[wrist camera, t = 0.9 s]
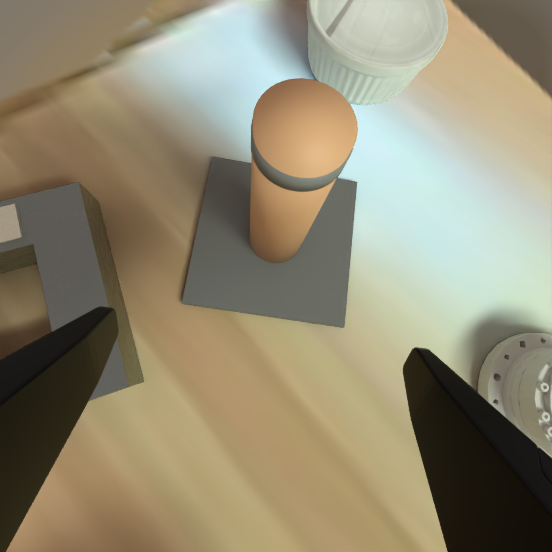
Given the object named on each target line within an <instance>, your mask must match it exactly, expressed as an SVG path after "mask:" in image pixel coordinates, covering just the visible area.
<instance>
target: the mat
mask: <svg viewBox="0 0 552 552" xmlns="http://www.w3.org/2000/svg"><path fill="white" fill-rule="evenodd" d="M251 167H252V163H246V162H241V161H235V160H229V159H224V158H218V157H212V160H211V165H210V170H209V174H208V179H207V184H206V189H205V194H204V198H203V203H202V208H201V213H200V217H199V222H198V227H197V232H196V237H195V241H194V246H193V251H192V256H191V261H190V265H189V270H188V275H187V280H186V285H185V289H184V294H183V299H182V304H187V305H194V306H201V307H207V308H214V309H221V310H227V311H234V312H241V313H248V314H254V315H261V316H268V317H275V318H281V319H288V320H295V321H301V322H308V323H315V324H322V325H328V326H335V327H342V328H343V327H344V325H345V314H346V302H347V291H348V280H349V268H350V257H351V246H352V234H353V223H354V211H355V200H356V189H357V182H354V181H349V180H343V179H336V180H335V182H334V184H333V186H332V188H331V190H330V192H329V194H328V195H327V197H326V199H325V201H324V203H323V205H322V207H321V209H320V211H319V212H318V214H317V216H316V218H315V220H314V222H313V224H312V226H311V227H310V229H309V231H308V233H307V235H306V237H305V239H304V241H303V243H302V244H301V246H300V248H299V250H298V252H297V253H296V255H295V256H294V257H292V258H291V259H290V260H288V261H285V262H282V263H270V262H267V261H264V260H262V259H261V258H259V257H258V256H257V255H256V254H255V252H254V251H253V249H252V247H251V244H250V203H251Z"/></svg>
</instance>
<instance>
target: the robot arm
mask: <svg viewBox="0 0 552 552" xmlns="http://www.w3.org/2000/svg"><path fill="white" fill-rule="evenodd" d="M118 332H119V327H118V321H117V315H116V310H115V309H114V308H112V307H104V306H99V307H97V308H95V309H93V310H91V311H89V312H87V313H86V314H84V315H82V316H80V317H78V318H76V319H75V320H73V321H71V322H69V323H67V324H65V325H63V326H62V327H60V328H58V329H56V330H54V331H52V332H51V333H49V334H47V335H45V336H43V337H41V338H40V339H38V340H36V341H34V342H32V343H30V344H29V345H27V346H25V347H23V348H21V349H19V350H17V351H16V352H14V353H12V354H10V355H8V356H6V357H5V358H3V359H1V360H0V552H6V550H7V548H8V547H9V545H10V543H11V541H12V539H13V538H14V536H15V534H16V532H17V530H18V528H19V527H20V525H21V523H22V521H23V519H24V518H25V516H26V514H27V512H28V510H29V508H30V507H31V505H32V503H33V501H34V499H35V498H36V496H37V494H38V492H39V490H40V488H41V487H42V485H43V483H44V481H45V479H46V478H47V476H48V474H49V472H50V470H51V468H52V467H53V465H54V463H55V461H56V459H57V458H58V456H59V454H60V452H61V450H62V448H63V447H64V445H65V443H66V441H67V439H68V438H69V436H70V434H71V432H72V430H73V428H74V427H75V425H76V423H77V421H78V419H79V417H80V416H81V414H82V412H83V410H84V408H85V407H86V405H87V403H88V401H89V399H90V397H91V396H92V394H93V392H94V390H95V388H96V386H97V384H98V382H99V380H100V378H101V376H102V373H103V371H104V368H105V366H106V363H107V361H108V358H109V356H110V354H111V351H112V349H113V346H114V344H115V341H116V339H117V336H118ZM403 376H404V382H405V388H406V394H407V400H408V406H409V412H410V417H411V421H412V425H413V429H414V433H415V436H416V440H417V443H418V447H419V451H420V454H421V458H422V461H423V465H424V469H425V472H426V476H427V479H428V483H429V486H430V490H431V494H432V497H433V501H434V504H435V508H436V512H437V515H438V519H439V522H440V526H441V530H442V533H443V537H444V540H445V544H446V548H447V551H448V552H552V458H551V457H550V456H549V455H548V454H547V453H546V452H544V451H543V450H542V449H541V448H539V447H537V445H536V444H535V443H534V442H533V441H532V440H531V439H530V438H528V437H527V436H526V435H525V434H524V433H523V432H522V431H521V430H519V429H518V428H517V427H516V426H515V425H514V424H513V423H511V422H510V421H509V420H508V419H507V418H506V417H505V416H504V415H502V414H501V413H500V412H499V411H498V410H497V409H496V408H495V407H493V406H492V405H491V404H490V403H489V402H488V401H487V400H485V399H484V398H483V397H482V396H481V395H480V394H479V393H478V392H476V391H475V390H474V389H473V388H472V387H471V386H470V385H468V384H467V383H466V382H465V381H464V380H463V379H462V378H461V377H459V376H458V375H457V374H456V373H455V372H454V371H453V370H452V369H450V368H449V367H448V366H447V365H446V364H445V363H444V362H442V361H441V360H440V359H439V358H438V357H437V356H436V355H435V354H433V353H432V352H431V351H430V350H428V349H426V348H418V347H416V348H413V349H412V351H411V353H410V354H409V356H408V358H407V360H406V362H405V363H404V366H403Z"/></svg>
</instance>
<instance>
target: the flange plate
mask: <svg viewBox="0 0 552 552" xmlns="http://www.w3.org/2000/svg"><path fill="white" fill-rule="evenodd" d="M36 263H38V268H39V273H40V277H41V282H42V287H43V292H44V297H45V301H46V306H47V311H48V316H49V321H50V326H51V330H52V331H54V330H56V329H58V328H60V327H62V326H63V325H65V324H67V323H69V322H71V321H73V320H75V319H76V318H78V317H80V316H82V315H84V314H86V313H87V312H89V311H91V310H93V309H95V308H97V307H99V306H104V307H112V308H114V309H115V310H116V315H117V321H118V327H119V332H118V336H117V339H116V341H115V344H114V346H113V349H112V351H111V354H110V356H109V358H108V361H107V363H106V366H105V368H104V371H103V373H102V376H101V378H100V380H99V382H98V384H97V386H96V388H95V390H94V392H93V394H92V396H91V397H90V399H89V401H90V400H93V399H96V398H99V397H102V396H105V395H107V394H110V393H113V392H116V391H119V390H122V389H125V388H127V387H130V386H133V385H136V384H139V383H142V382H144V379H143V375H142V371H141V367H140V363H139V359H138V356H137V352H136V348H135V344H134V340H133V336H132V332H131V328H130V324H129V320H128V316H127V312H126V308H125V304H124V301H123V297H122V293H121V289H120V285H119V281H118V277H117V273H116V269H115V265H114V261H113V257H112V253H111V249H110V246H109V242H108V238H107V234H106V230H105V226H104V222H103V218H102V214H101V210H100V206H99V202H98V201H97V200H96V199H95V198H94V197H93V196H92V195H91V194H90V193H89V192H88V191H87V190H86V189H85V188H84V187H83V186H82V185H81V184H80V183H79V182H77V183H73V184H69V185H64V186H60V187H56V188H52V189H48V190H44V191H40V192H36V193H32V194H28V195H24V196H20V197H16V198H11V199H7V200H3V201H0V273H4V272H7V271H11V270H14V269H18V268H21V267H25V266H29V265H32V264H36Z"/></svg>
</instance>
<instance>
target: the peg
mask: <svg viewBox="0 0 552 552" xmlns="http://www.w3.org/2000/svg"><path fill="white" fill-rule="evenodd" d="M357 131H358V127H357V120H356V116H355V113H354V111H353V109H352V107H351V105H350V104H349V102H348V101H347V100H346V99H345V97H344V96H343V95H342V94H340V93H339V92H338V91H337V90H335V89H334V88H332V87H331V86H329V85H327V84H325V83H322V82H319V81H316V80H311V79H303V78H299V79H289V80H285V81H282V82H280V83H277V84H275V85H274V86H272V87H270V88H269V89H268V90H267V91H265V92H264V94H263V95H262V96H261V97H260V99H259V100H258V102H257V104H256V106H255V109H254V113H253V119H252V125H251V152H252V167H251V203H250V244H251V247H252V249H253V251H254V252H255V254H256V255H257V256H258V257H259V258H261V259H262V260H264V261H267V262H270V263H282V262H285V261H288V260H290V259H291V258H292V257H294V256H295V255H296V253H297V252H298V250H299V248H300V246H301V244H302V243H303V241H304V239H305V237H306V235H307V233H308V231H309V229H310V227H311V226H312V224H313V222H314V220H315V218H316V216H317V214H318V212H319V211H320V209H321V207H322V205H323V203H324V201H325V199H326V197H327V195H328V194H329V192H330V190H331V188H332V186H333V184H334V182H335V180H336V179H337V177H338V176H339V174H340V173H341V171H342V170H343V168H344V166H345V164H346V162H347V160H348V159H349V157H350V155H351V152H352V150H353V146H354V144H355V142H356V138H357Z"/></svg>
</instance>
